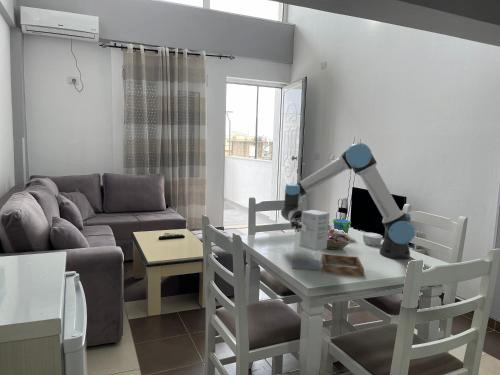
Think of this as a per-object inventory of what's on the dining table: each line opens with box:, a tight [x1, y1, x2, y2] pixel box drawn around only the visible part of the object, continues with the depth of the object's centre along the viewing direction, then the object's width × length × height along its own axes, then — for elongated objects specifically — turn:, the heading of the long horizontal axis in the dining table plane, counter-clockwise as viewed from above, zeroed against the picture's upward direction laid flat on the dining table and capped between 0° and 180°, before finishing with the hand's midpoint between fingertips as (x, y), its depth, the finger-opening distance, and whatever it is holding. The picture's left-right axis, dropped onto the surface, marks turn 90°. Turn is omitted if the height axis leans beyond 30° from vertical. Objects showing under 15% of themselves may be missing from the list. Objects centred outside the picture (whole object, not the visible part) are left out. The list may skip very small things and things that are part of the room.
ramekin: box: [362, 232, 384, 246], centre depth 221 cm, size 11×11×5 cm
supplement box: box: [299, 209, 330, 252], centre depth 174 cm, size 10×9×17 cm
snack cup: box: [332, 218, 352, 235], centre depth 232 cm, size 16×10×10 cm
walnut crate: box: [321, 253, 365, 277], centre depth 174 cm, size 17×17×4 cm
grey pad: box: [291, 258, 320, 272], centre depth 176 cm, size 12×12×1 cm
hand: (318, 228), depth 170 cm, fingers closed on supplement box, 12 cm apart
